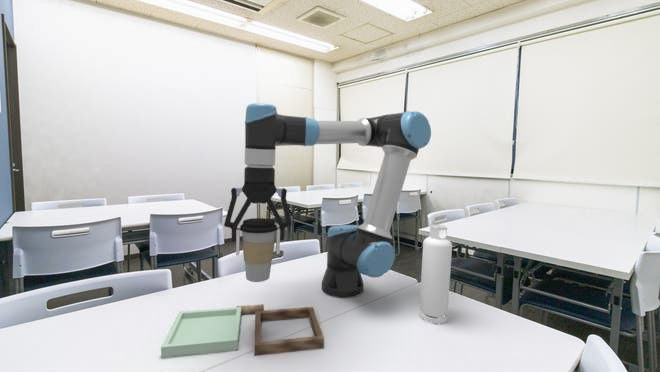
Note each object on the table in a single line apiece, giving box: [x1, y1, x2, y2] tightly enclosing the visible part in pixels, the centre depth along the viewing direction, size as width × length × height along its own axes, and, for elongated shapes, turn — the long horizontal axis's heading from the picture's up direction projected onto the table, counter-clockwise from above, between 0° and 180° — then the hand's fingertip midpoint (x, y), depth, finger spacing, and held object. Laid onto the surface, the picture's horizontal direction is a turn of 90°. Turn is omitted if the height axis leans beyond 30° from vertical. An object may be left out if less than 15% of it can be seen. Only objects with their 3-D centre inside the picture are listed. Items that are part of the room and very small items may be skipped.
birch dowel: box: [235, 304, 265, 315], centre depth 96 cm, size 8×2×2 cm
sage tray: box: [160, 306, 242, 359], centre depth 84 cm, size 17×17×3 cm
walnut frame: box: [253, 306, 325, 356], centre depth 85 cm, size 17×17×2 cm
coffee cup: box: [239, 217, 278, 283], centre depth 82 cm, size 9×9×15 cm
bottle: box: [418, 223, 453, 324], centre depth 95 cm, size 8×8×28 cm
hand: (258, 253), depth 82 cm, fingers closed on coffee cup, 9 cm apart
